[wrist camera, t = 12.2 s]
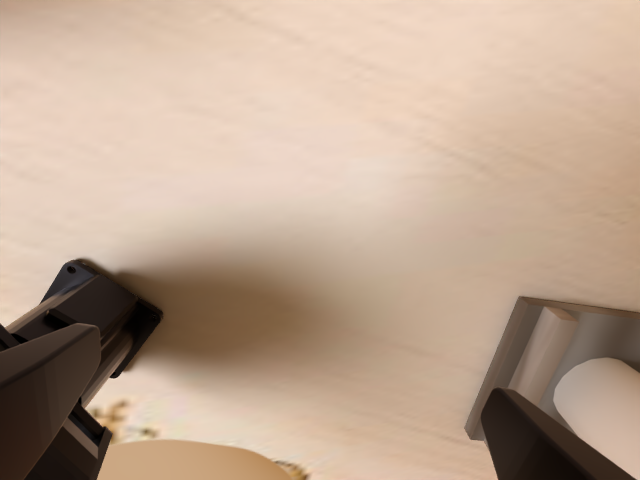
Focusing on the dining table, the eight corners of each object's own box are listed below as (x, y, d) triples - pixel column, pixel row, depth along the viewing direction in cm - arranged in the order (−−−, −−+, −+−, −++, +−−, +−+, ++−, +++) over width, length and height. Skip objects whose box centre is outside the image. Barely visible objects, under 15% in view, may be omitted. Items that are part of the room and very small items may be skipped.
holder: (464, 428, 26) (528, 553, 18) (518, 296, 22) (629, 386, 14) (612, 442, 27) (730, 566, 19) (689, 319, 23) (875, 415, 15)
